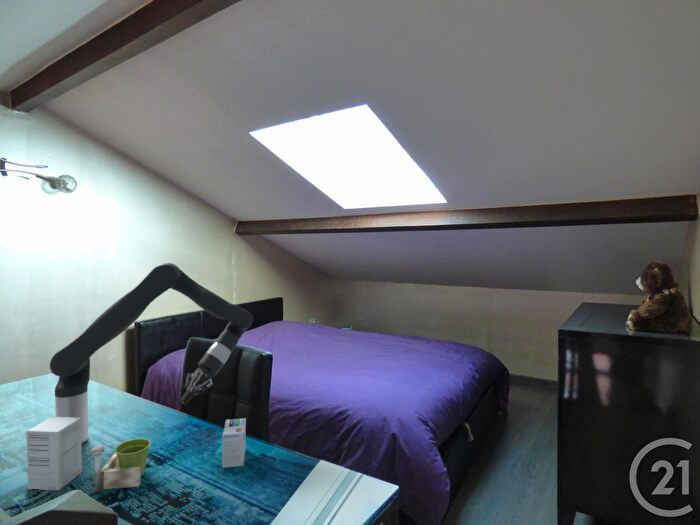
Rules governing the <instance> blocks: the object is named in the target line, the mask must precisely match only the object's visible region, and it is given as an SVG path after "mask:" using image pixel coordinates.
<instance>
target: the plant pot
mask: <svg viewBox="0 0 700 525" xmlns="http://www.w3.org/2000/svg"><path fill="white" fill-rule="evenodd" d="M151 445H152V442H151V440H150V439H147V438H135V439H134V438H133V439H129V440H125V441H124V442H123V441H122V442H121V443H119V444H117V445H116V446H115V448H114V453H116V454H117V457H118V459H119V468H131V467H140V477H142V476H143V475H144V474H145V471H146V464H147V459H148V452H149V449H150V446H151Z"/></svg>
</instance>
